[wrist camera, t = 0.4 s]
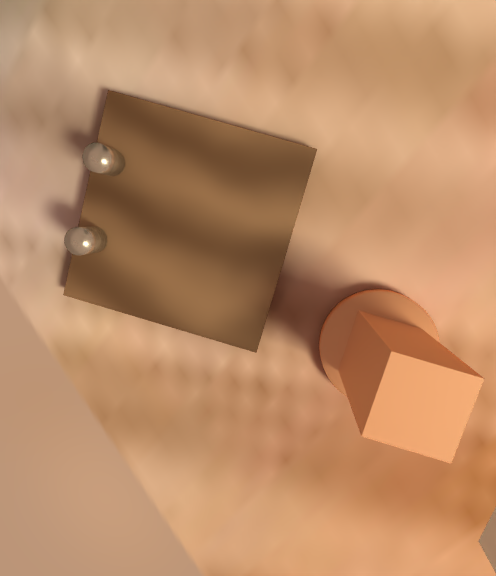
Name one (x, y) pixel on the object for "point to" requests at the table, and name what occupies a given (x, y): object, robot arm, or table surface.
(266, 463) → the table surface
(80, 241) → the dowels
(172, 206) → the plate
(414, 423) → the tall pillar on disc
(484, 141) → the table surface
